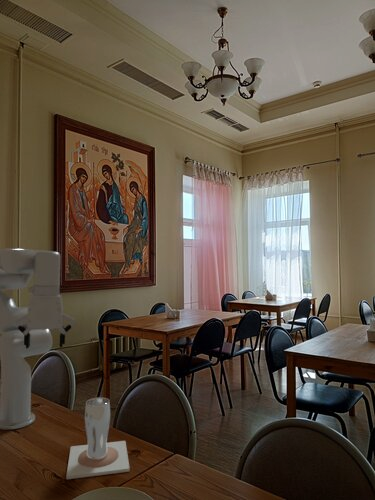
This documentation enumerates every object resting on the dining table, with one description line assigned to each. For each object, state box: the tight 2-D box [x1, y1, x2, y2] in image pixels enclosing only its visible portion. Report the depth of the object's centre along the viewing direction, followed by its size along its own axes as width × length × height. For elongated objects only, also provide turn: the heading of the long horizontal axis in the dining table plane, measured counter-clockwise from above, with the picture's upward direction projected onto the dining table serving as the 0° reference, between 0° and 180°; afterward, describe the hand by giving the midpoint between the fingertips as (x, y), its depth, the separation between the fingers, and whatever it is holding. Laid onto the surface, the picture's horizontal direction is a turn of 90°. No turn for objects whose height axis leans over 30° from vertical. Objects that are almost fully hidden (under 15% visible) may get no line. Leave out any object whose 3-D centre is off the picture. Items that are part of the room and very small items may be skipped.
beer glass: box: [84, 396, 111, 461], centre depth 106 cm, size 7×7×15 cm
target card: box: [65, 440, 131, 480], centre depth 105 cm, size 16×16×1 cm
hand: (44, 346), depth 115 cm, fingers open, 9 cm apart
